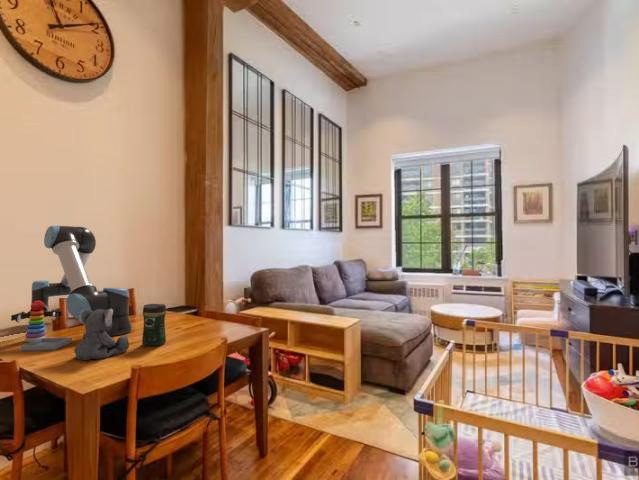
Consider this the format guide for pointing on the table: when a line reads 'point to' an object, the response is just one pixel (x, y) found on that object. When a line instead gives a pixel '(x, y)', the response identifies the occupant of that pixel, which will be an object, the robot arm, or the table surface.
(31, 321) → the stacking toy
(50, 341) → the tray
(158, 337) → the coffee jar
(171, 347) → the table surface
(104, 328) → the koala plush
